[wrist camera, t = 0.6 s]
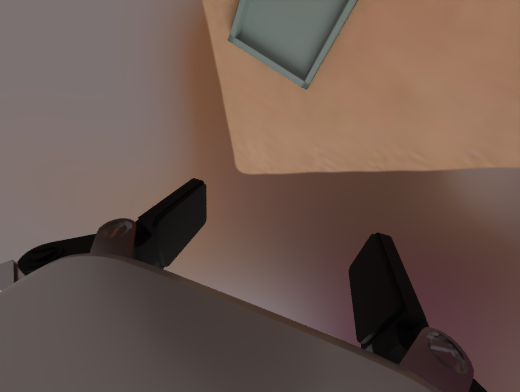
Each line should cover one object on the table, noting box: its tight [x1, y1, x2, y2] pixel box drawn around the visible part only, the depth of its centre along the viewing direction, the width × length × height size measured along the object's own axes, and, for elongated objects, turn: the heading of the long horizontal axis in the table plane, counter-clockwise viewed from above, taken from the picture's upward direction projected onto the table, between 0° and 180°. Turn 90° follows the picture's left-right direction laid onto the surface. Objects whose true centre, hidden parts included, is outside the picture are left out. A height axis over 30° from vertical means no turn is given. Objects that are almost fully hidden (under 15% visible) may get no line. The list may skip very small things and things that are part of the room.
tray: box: [228, 0, 358, 90], centre depth 26 cm, size 12×14×2 cm
